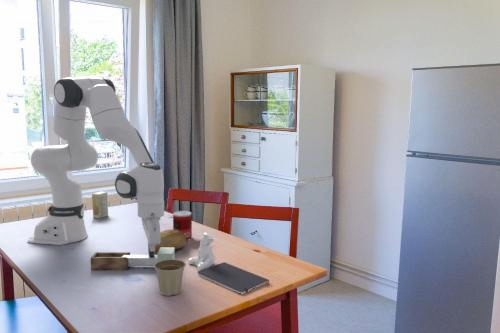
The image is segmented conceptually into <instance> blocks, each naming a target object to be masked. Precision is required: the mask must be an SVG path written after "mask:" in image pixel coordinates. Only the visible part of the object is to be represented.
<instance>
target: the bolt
mask: <svg viewBox="0 0 500 333" xmlns="http://www.w3.org/2000/svg"><path fill="white" fill-rule="evenodd" d="M147 245H148V247H147V248H148V250H147V251H148V252H147V253H148V254H130V255H123V256H122V257H127V266H129V267H154V265H155V263H157V254H155V252H154V251H153V252H151V251H150V250H149V242H148V241H147Z"/></svg>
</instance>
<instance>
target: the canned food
mask: <svg viewBox="0 0 500 333" xmlns="http://www.w3.org/2000/svg"><path fill="white" fill-rule="evenodd" d="M192 216H193V215H192V212H191V211H188V210H178V211H175V212H173V214H172V229H173V230H178V231H181V232H183V233H184V234H185V236H186V242H187V241H190V240H192V236H193V234H192V232H193V229H192V228H193V226H192V225H193V220H192Z"/></svg>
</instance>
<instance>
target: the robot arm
mask: <svg viewBox="0 0 500 333" xmlns="http://www.w3.org/2000/svg"><path fill="white" fill-rule="evenodd" d="M116 90H117V89H116V87H115V84H114V83H113V81H112V80H111V79H109V78H107V77H103V76H98V77H97V76H78V77H64V78H61V79H58V80H57V81H56V82H55V85H54V87H53V95H54V99H55V100H56V103H55V108H54V118H53V132H54V134H55V135H56V136H57V137H58V138H60V139H61V140H65V141H66V144H55V145H46V146H42V147H37V148H35V149H34V151H32V152H31V155H30V164H31V167H32V168H33V170H34V171H36V172H37V173H39V174H41V175H42V177H44V178H45V179H46V180H47V181H48V184H49V186H50V189H51V193H52V204H51V205H50V206H49V207H48V208H47V209H46V210H47V211H46V212H48V214H47V216H45V217H44V218H43V219H41V220H40V221H39V222H38V223H37V224H36V225H35V226H34V230H33V231H34V232H33V234H32V235H30V236H29V237H28V239H27V241H28V243H29V244H41V245H42V244H43V245H54V246H55V245H56V246H63V245H64V246H65V245H66V244H70V243H76V242H79V241H83V240H85V239H86V238H88V236H89V235H88V232H87V229H86V225H85V220H84V216H85V209H84V208H85V207H84V203H83V193H82V192H83V190H82V186H81V184H80V183H79V182H77V181H75V180H73V179H70V178H69V177H68V174H67V173H69V172H77V171H85V170H89V169H92V168H94V167H95V166H96V165H97V162H98V161H99V154H98V151H97V149H96V148H95V147H94V146H93V145H92V144H90V143H89V142H88V141H87V138H86V135H85V124H86V116H87V108H88V111H89V113H90V117H91V119H92V123H93V125H94V128H95V131H96V132H97V133H98V135H100V137H102V138H103V139H106V140H108V141H111V142H115V143H117V144H120V145H122V146H123V147H125V148H127V149H128V150H129V152H130V154H131V156H132V157H133V160H134V162H135V164H136V165H137V166H135V167H134V168H131V169H128V170H125V171H122V172H120V173H118V175H117V176H116V178H115V181H114V188H115V192H116V193H117V194H118V195H119V197H120V198H123V199H126V200H127V199H133V198H135V199H137V217H138V218H140V219H141V222H142V228H143V230H144V234H145V236H146V239H147V243H148V242H149V250H150V251H151V252H153V251H155V245H158V244H160V241H161V239H160V232H161V223H160V221H161V217H164V216H165V200H164V191H165V190H164V189H165V183H164V182H165V180H164V172H163V169H162V167H161V165H159V164H158V163H156V162H154V160H153V158H152V156H151V154H150V152H149V150H148V148H147V145H146V144H145V142H144V140H143V138H142V136H141V134H140V133H139V131H138V130H137V129H136V128H135V127H134V126H133V125H132V124H131V123H130V120H129V119H128V117H127V116H126V114H125V111H124V108H123V106H122V103H121V101H120V99H119V98H118V95H117V93H116Z"/></svg>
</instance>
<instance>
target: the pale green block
mask: <svg viewBox="0 0 500 333" xmlns="http://www.w3.org/2000/svg"><path fill="white" fill-rule="evenodd" d="M156 255H157V262H159V261H162V260H168V259H176V249H175V247H160V249H159V251H158V253H156Z"/></svg>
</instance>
